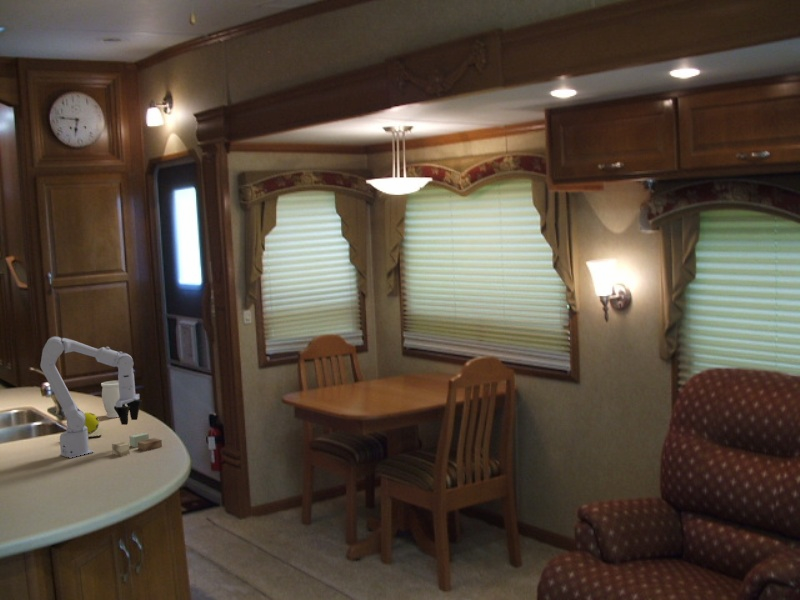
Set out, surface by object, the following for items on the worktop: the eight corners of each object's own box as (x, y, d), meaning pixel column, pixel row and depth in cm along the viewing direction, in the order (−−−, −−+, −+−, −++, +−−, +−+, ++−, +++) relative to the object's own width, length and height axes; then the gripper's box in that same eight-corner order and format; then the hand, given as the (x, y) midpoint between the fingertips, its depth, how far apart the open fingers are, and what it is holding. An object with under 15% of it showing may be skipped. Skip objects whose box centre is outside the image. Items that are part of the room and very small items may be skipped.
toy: (81, 435, 381) (76, 440, 352) (77, 412, 381) (73, 415, 353) (103, 431, 384) (100, 436, 355) (100, 408, 384) (97, 411, 355)
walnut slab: (145, 451, 332) (144, 443, 332) (138, 449, 336) (137, 442, 336) (162, 447, 337) (161, 439, 337) (155, 445, 341) (154, 437, 340)
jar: (102, 415, 399) (99, 381, 397) (126, 412, 403) (123, 379, 401) (105, 419, 389) (102, 385, 388) (130, 416, 393) (127, 382, 392)
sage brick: (135, 447, 338) (134, 437, 338) (130, 446, 341) (129, 436, 340) (149, 444, 343) (148, 434, 342) (144, 443, 345) (143, 432, 345)
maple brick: (129, 454, 329) (128, 443, 329) (121, 456, 326) (120, 445, 326) (121, 452, 333) (120, 441, 333) (112, 454, 331) (111, 443, 330)
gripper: (127, 390, 329) (130, 426, 330) (145, 382, 343) (148, 417, 345) (109, 390, 330) (112, 426, 332) (128, 382, 345) (131, 417, 346)
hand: (129, 422), depth 338 cm, fingers open, 7 cm apart
